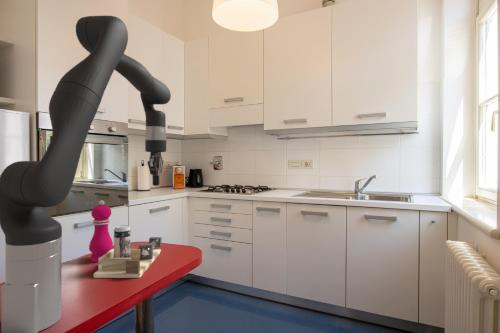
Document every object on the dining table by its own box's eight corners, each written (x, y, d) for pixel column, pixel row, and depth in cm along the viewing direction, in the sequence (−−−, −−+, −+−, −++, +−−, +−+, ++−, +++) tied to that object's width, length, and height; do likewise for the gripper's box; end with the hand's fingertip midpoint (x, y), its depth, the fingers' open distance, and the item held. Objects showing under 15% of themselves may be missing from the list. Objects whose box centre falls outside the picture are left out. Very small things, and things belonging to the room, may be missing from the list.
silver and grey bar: (150, 258, 93) (150, 248, 93) (137, 258, 92) (138, 248, 92) (161, 245, 107) (161, 237, 107) (150, 245, 106) (150, 237, 106)
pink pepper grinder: (84, 259, 95) (85, 200, 95) (106, 254, 101) (106, 198, 101) (95, 264, 91) (96, 202, 91) (117, 258, 97) (117, 200, 97)
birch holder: (140, 277, 82) (140, 257, 82) (93, 277, 81) (93, 257, 81) (160, 252, 105) (161, 236, 105) (124, 252, 104) (124, 236, 104)
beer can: (123, 268, 85) (124, 228, 85) (109, 267, 86) (110, 227, 86) (133, 263, 90) (134, 225, 90) (120, 261, 91) (120, 224, 91)
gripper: (161, 138, 100) (161, 187, 101) (170, 140, 113) (170, 183, 114) (139, 138, 99) (140, 187, 100) (150, 139, 112) (151, 183, 113)
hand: (156, 185), depth 107 cm, fingers closed
